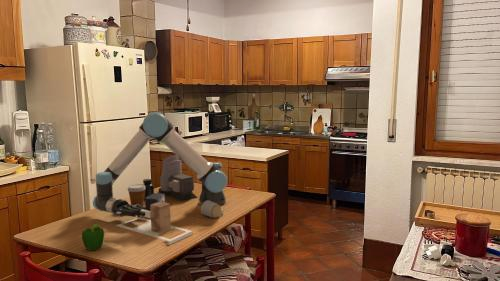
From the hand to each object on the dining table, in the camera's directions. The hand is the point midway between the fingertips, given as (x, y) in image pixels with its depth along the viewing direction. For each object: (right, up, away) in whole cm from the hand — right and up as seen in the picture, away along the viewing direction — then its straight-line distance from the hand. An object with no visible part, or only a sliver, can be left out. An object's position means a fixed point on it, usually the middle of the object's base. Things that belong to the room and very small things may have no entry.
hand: (151, 214), depth 172 cm
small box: (-4, -5, +23) cm, 24 cm away
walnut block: (+5, -6, -2) cm, 8 cm away
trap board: (+1, -8, +1) cm, 8 cm away
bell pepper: (-19, -10, -17) cm, 28 cm away
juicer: (-1, 0, +62) cm, 62 cm away
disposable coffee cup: (-17, -3, +37) cm, 41 cm away
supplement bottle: (-15, -1, +52) cm, 54 cm away
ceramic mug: (+26, -5, +22) cm, 34 cm away
